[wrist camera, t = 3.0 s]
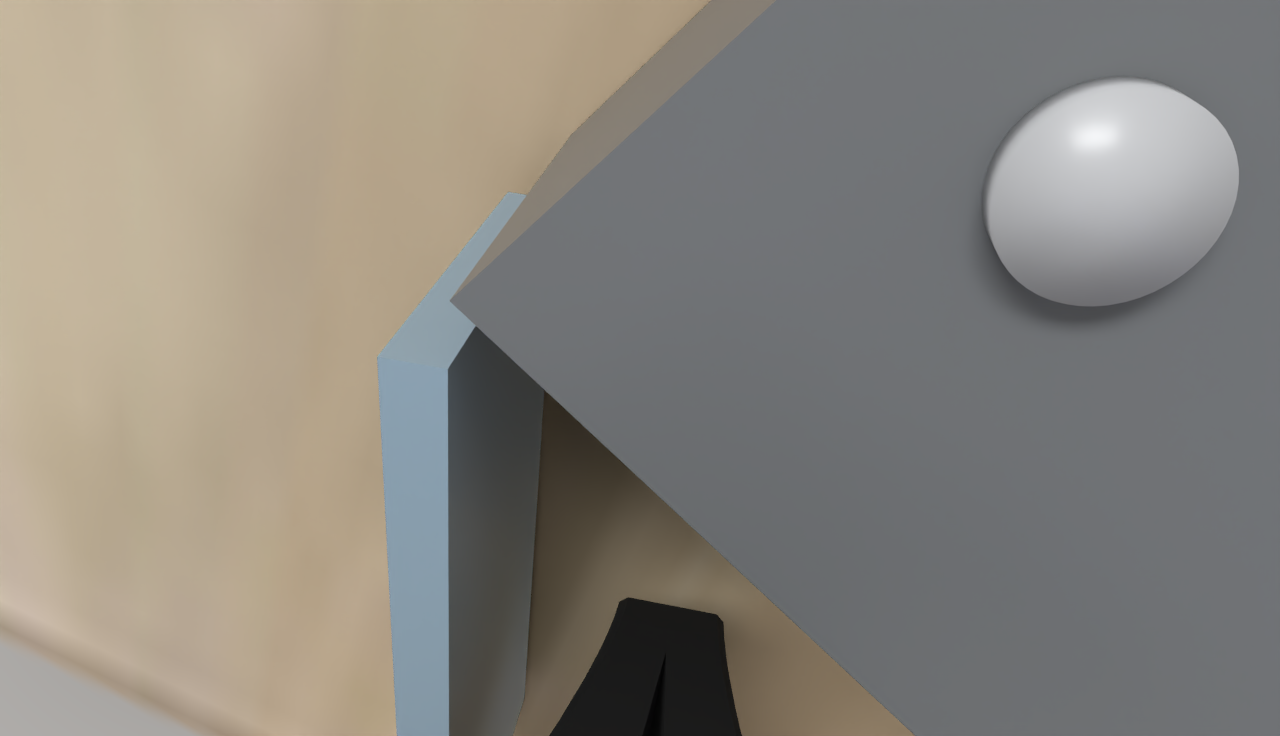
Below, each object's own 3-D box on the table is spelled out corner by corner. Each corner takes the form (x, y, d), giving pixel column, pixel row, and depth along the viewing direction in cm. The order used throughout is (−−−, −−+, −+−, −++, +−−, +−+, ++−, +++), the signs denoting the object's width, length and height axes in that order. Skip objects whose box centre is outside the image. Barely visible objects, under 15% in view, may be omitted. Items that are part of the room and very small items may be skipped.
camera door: (524, 697, 16) (449, 939, 12) (457, 684, 16) (364, 921, 12) (556, 199, 11) (447, 369, 7) (459, 184, 11) (307, 343, 7)
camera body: (1502, 453, 11) (1917, 815, 7) (1054, 647, 14) (1166, 990, 10) (1026, -303, 8) (1270, -446, 4) (571, 134, 11) (436, 319, 7)
